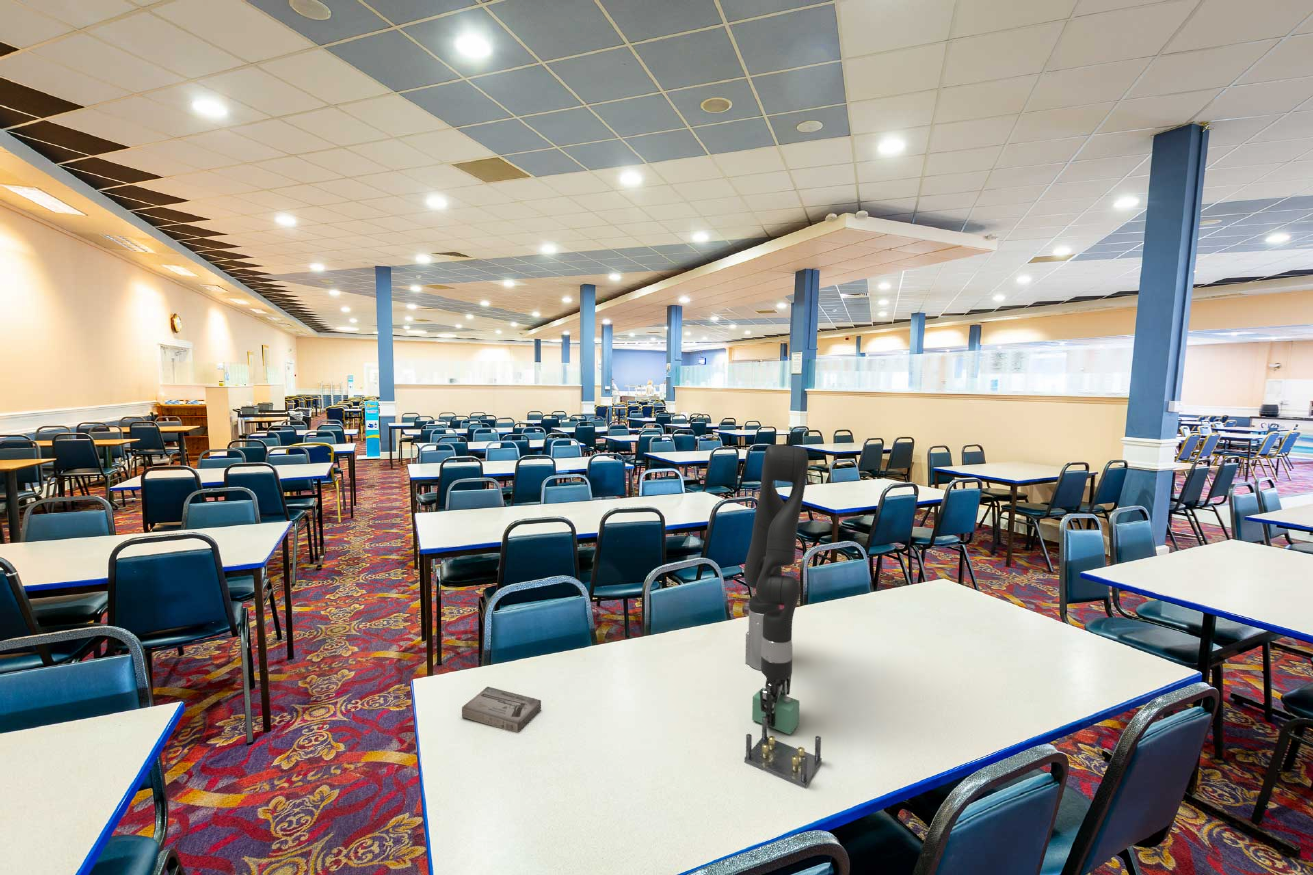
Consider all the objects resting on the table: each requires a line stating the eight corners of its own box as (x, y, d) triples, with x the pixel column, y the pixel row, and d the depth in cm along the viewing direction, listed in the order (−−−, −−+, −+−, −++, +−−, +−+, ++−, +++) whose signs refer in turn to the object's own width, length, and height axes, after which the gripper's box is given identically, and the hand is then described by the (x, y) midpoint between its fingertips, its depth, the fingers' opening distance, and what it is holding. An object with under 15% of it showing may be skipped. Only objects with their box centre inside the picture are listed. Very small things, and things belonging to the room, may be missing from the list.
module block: (752, 719, 138) (752, 694, 137) (762, 709, 142) (762, 685, 142) (789, 734, 132) (790, 708, 131) (798, 723, 136) (799, 698, 136)
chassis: (744, 762, 123) (744, 736, 122) (763, 739, 131) (763, 715, 130) (805, 787, 115) (805, 760, 114) (821, 762, 123) (822, 736, 122)
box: (487, 696, 149) (486, 685, 149) (542, 710, 143) (542, 698, 143) (460, 718, 139) (460, 707, 139) (518, 734, 133) (518, 722, 133)
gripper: (774, 639, 144) (773, 701, 145) (749, 661, 132) (748, 728, 134) (802, 647, 139) (800, 711, 141) (779, 670, 128) (777, 739, 129)
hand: (775, 719), depth 137 cm, fingers closed on module block, 5 cm apart
